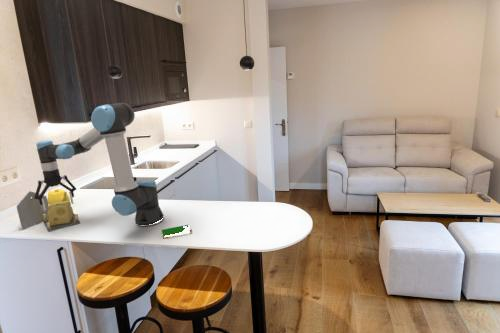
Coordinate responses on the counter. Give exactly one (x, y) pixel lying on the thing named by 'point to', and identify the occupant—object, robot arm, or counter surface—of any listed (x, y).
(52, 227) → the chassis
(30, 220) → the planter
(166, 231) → the dish sponge
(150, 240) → the counter surface
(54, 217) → the cheese
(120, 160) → the robot arm
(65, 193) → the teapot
